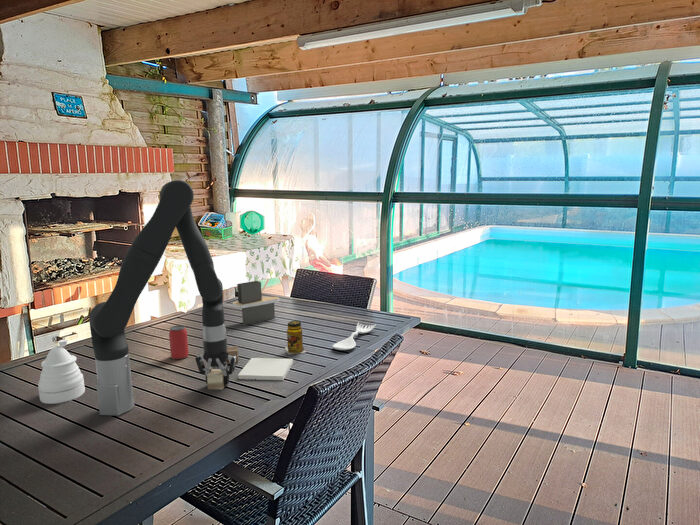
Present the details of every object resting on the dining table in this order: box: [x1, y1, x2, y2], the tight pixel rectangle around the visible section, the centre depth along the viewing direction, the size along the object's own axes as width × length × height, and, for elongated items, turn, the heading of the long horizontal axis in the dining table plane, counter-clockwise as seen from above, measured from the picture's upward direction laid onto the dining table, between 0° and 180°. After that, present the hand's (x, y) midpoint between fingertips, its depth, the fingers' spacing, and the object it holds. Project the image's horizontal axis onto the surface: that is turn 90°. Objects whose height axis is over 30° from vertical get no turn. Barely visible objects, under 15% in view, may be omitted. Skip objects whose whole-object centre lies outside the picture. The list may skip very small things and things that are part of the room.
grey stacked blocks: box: [232, 280, 280, 326], centre depth 237 cm, size 38×25×20 cm, turn 129°
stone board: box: [237, 357, 294, 381], centre depth 178 cm, size 16×16×2 cm
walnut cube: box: [226, 345, 240, 365], centre depth 187 cm, size 5×5×5 cm
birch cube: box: [207, 368, 226, 391], centre depth 166 cm, size 5×5×5 cm
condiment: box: [284, 320, 307, 356], centre depth 197 cm, size 7×8×12 cm
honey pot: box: [37, 339, 86, 405], centre depth 160 cm, size 13×13×18 cm
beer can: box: [168, 325, 190, 360], centre depth 192 cm, size 7×7×12 cm
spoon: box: [331, 322, 377, 351], centre depth 209 cm, size 9×32×4 cm, turn 157°
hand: (218, 384), depth 166 cm, fingers closed on birch cube, 5 cm apart
